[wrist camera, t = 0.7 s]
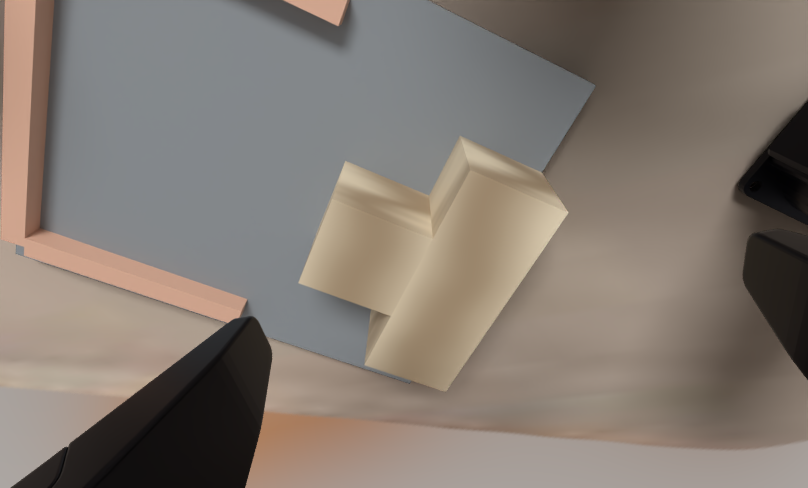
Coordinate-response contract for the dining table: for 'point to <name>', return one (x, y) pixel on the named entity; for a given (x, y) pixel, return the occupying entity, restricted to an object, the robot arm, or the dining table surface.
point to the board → (246, 139)
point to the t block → (432, 256)
